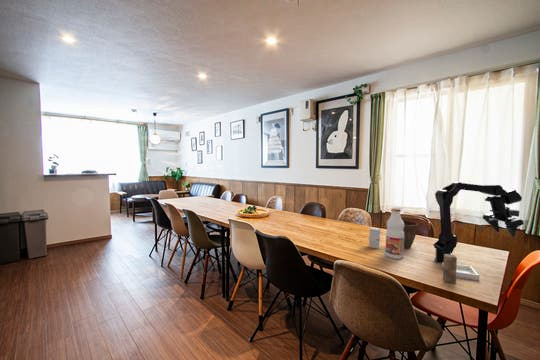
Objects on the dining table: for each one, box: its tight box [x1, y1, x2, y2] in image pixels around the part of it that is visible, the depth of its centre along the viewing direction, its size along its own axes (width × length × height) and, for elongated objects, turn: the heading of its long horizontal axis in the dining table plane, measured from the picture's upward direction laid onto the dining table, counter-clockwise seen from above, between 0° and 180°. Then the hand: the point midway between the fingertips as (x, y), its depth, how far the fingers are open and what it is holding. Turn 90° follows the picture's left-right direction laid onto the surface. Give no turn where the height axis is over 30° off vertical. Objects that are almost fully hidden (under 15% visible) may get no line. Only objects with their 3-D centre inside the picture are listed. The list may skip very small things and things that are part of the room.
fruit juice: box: [385, 207, 405, 260], centre depth 145 cm, size 9×9×28 cm
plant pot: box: [402, 219, 419, 249], centre depth 164 cm, size 15×15×16 cm
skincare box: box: [368, 227, 381, 249], centre depth 163 cm, size 6×4×12 cm
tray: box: [441, 262, 480, 281], centre depth 123 cm, size 12×12×2 cm
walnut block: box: [442, 253, 458, 285], centre depth 114 cm, size 4×4×12 cm
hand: (505, 234), depth 135 cm, fingers open, 9 cm apart
